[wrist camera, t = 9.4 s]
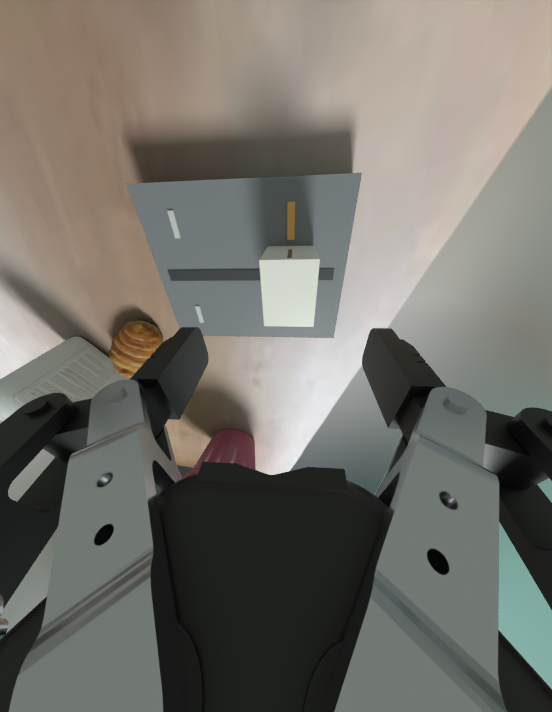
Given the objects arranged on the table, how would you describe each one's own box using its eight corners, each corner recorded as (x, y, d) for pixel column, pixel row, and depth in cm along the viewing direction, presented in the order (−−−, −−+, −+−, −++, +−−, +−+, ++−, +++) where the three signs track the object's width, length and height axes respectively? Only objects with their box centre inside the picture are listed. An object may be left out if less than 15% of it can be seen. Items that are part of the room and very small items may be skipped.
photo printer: (64, 342, 31) (-44, 408, 21) (77, 330, 29) (-32, 396, 19) (124, 384, 36) (59, 453, 26) (138, 376, 34) (75, 447, 24)
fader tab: (270, 301, 20) (264, 326, 16) (267, 246, 17) (259, 259, 13) (310, 302, 20) (313, 326, 16) (314, 245, 17) (319, 259, 13)
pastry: (124, 306, 26) (102, 320, 23) (175, 331, 28) (161, 346, 25) (118, 353, 32) (99, 369, 29) (161, 371, 33) (148, 388, 30)
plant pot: (195, 443, 47) (167, 510, 37) (211, 412, 39) (182, 487, 29) (250, 461, 50) (239, 527, 40) (277, 436, 42) (271, 510, 32)
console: (192, 323, 27) (181, 335, 24) (148, 185, 18) (125, 183, 16) (329, 325, 25) (333, 338, 23) (352, 176, 17) (362, 172, 14)
